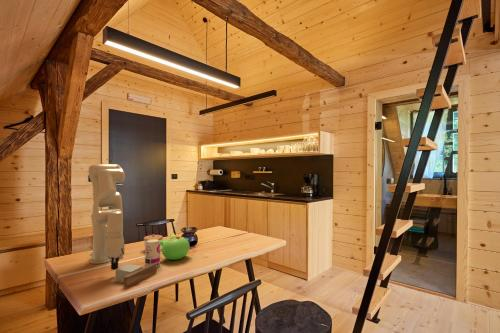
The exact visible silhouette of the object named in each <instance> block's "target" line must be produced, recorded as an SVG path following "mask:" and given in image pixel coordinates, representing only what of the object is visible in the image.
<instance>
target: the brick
mask: <svg viewBox="0 0 500 333" xmlns="http://www.w3.org/2000/svg"><path fill="white" fill-rule="evenodd" d="M141 268H143V266H141V265H136V264H130V263H126V264H125V265H122V266H120V267H118V268H117V269H115V280H116V282H120V281H121V282H122V283H124V276H126V275H129V274H131V273H133V272H135V271H137V270H139V269H141Z"/></svg>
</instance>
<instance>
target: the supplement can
mask: <svg viewBox="0 0 500 333" xmlns="http://www.w3.org/2000/svg"><path fill="white" fill-rule="evenodd" d="M144 248H145V249H144V251H145V252H144V253H145V254H144V257H145V258H144V260H145V261H144V263H145V265H144V267H145V266H147V265H150V264H152V263H156V268H158V267H159V266H160V265H161V247H160V241H159V240H158V239H151V240H147V242H146V244H145V246H144Z"/></svg>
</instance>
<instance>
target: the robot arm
mask: <svg viewBox="0 0 500 333" xmlns="http://www.w3.org/2000/svg"><path fill="white" fill-rule="evenodd" d="M87 171H88V176H89V180H90V183H91V185H92V197H93V198H92V200H93V204H92V213H91V215H90V216H91V217H90V218H91V226H92V252H91V253H89V257H91V258H90V259H89V263H90V264H93V265H95V264H96V265H98V264H105V263H109V262H110V270H111V271H114V270H115V271H116V269H117V268H119V261H120V260H123V259H124V255H125V253H126V252H125V251H126V250H125V239H124V234H123V233H124V214H123V212H124V211H123V199H122V197H123V196H122V194H121V192H119V191H117V187H116V184H117V183H119V184H120V183H123V182H124V181H125V180H126V174H125V171H124V169H123V168H122V167H121V166H120V164H118V163H117V164H116V163H115V164H114V163H108V164H107V163H94V164H91V165H89V167H88V170H87ZM109 207H111V208H109ZM100 208H103V209H100ZM104 208H105V209H104Z"/></svg>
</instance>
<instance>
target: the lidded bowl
mask: <svg viewBox="0 0 500 333" xmlns="http://www.w3.org/2000/svg"><path fill="white" fill-rule="evenodd" d="M151 239H158V240H159V241H164V240H163V239H164V237H163V235H160V234H154V233H153V234H150V235H147V236H144V237H143V245H144V247H145V244H146V242H147V240H151ZM160 248H162V246H161V245H160Z"/></svg>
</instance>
